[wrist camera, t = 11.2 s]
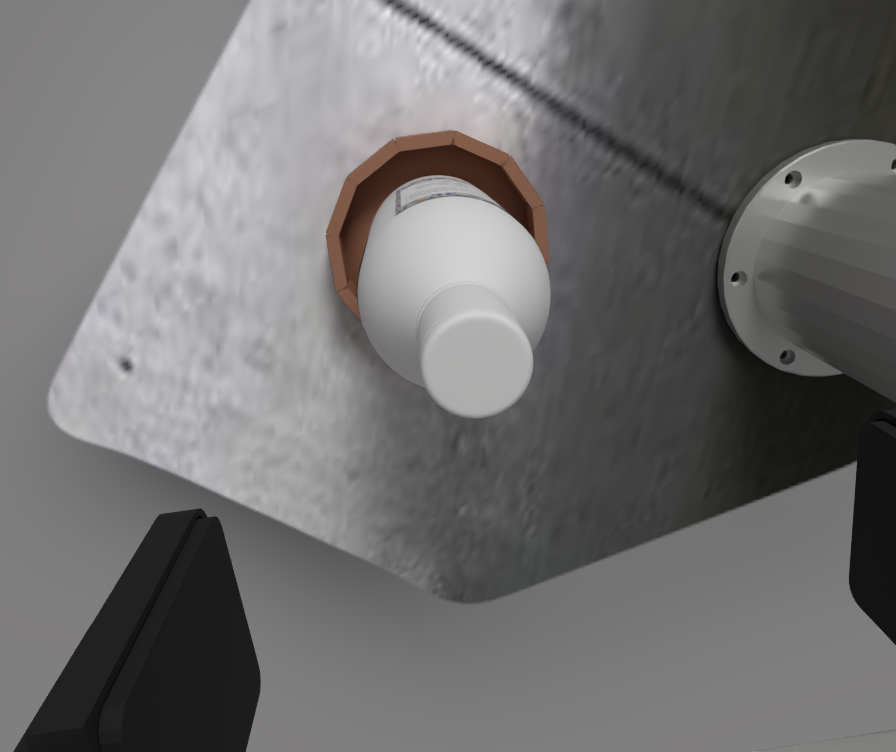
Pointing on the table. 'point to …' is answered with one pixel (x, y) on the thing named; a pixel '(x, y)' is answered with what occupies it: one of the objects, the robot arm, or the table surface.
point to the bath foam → (454, 294)
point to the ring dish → (413, 161)
